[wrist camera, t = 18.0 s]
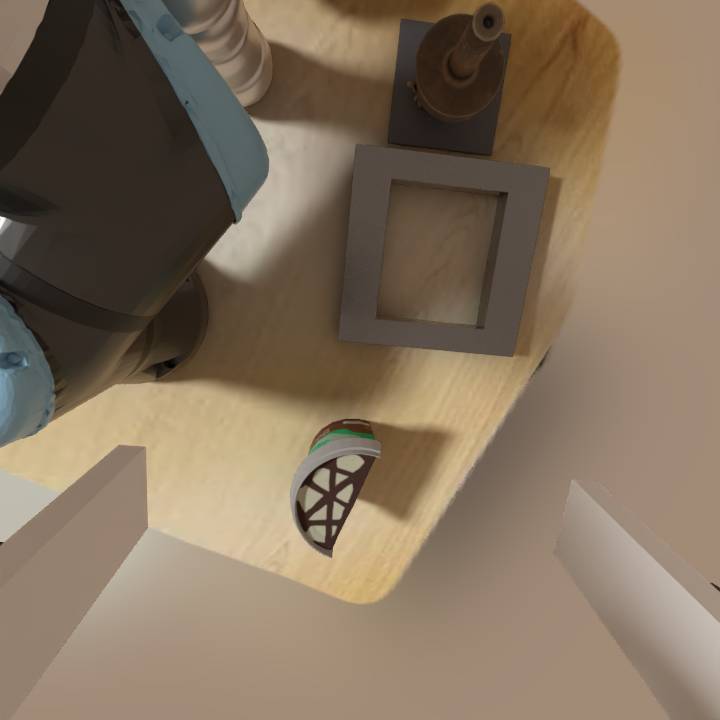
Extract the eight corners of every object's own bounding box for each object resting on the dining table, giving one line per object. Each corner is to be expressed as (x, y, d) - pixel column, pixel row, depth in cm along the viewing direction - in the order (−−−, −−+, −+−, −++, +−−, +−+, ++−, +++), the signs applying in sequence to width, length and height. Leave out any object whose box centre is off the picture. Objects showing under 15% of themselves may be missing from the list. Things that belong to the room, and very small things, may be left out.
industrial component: (397, 130, 39) (421, 76, 27) (407, 41, 37) (436, -57, 25) (495, 141, 39) (559, 93, 28) (509, 54, 38) (583, -36, 26)
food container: (323, 390, 45) (317, 427, 35) (374, 410, 46) (382, 452, 36) (282, 483, 48) (267, 542, 38) (332, 501, 49) (329, 563, 39)
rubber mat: (387, 143, 39) (388, 142, 39) (401, 20, 37) (401, 18, 36) (490, 155, 40) (491, 155, 40) (509, 36, 37) (511, 34, 37)
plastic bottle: (289, 96, 38) (232, -77, 18) (223, 127, 38) (99, -9, 19) (257, 20, 36) (159, -254, 17) (188, 54, 37) (16, -177, 17)
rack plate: (338, 335, 44) (337, 340, 41) (355, 150, 39) (356, 143, 37) (503, 351, 45) (512, 356, 42) (538, 173, 40) (550, 167, 38)
